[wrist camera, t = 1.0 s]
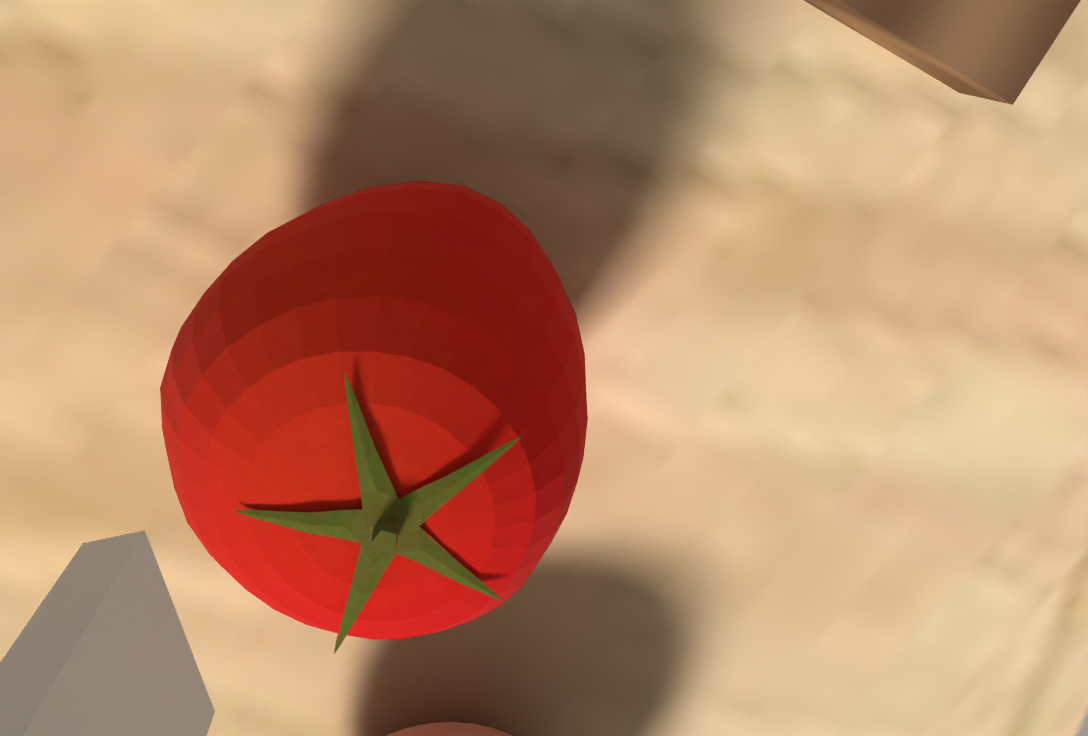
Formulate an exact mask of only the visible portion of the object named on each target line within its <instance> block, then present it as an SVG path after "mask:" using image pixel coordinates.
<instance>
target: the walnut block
mask: <svg viewBox="0 0 1088 736" xmlns="http://www.w3.org/2000/svg"><path fill="white" fill-rule="evenodd" d="M804 1H806V2H808V3H809V4H811V5H813V6H814V7H816V8H818V9H819V10H821V11H823V12H824V13H826V14H828V15H829V16H831V17H833V18H834V19H836V20H838V21H839V22H841V23H843V24H845V25H846V26H848V27H850V28H851V29H853V30H855V31H856V32H858V33H860V34H861V35H863V36H865V37H866V38H868V39H870V40H871V41H873V42H875V43H877V44H878V45H880V46H882V47H883V48H885V49H887V50H888V51H890V52H892V53H893V54H895V55H897V56H898V57H900V58H902V59H903V60H905V61H907V62H908V63H910V64H912V65H914V66H915V67H917V68H919V69H920V70H922V71H924V72H925V73H927V74H929V75H930V76H932V77H934V78H935V79H937V80H939V81H940V82H942V83H944V84H946V85H947V86H949V87H951V88H952V89H954V90H956V91H957V92H959V93H963V94H967V95H972V96H976V97H981V98H985V99H990V100H994V101H999V102H1003V103H1008V104H1012V105H1013V103H1014V102H1015V100H1016V99H1017V97H1018V96H1019V94H1020V93H1021V91H1022V90H1023V88H1024V87H1025V85H1026V83H1027V82H1028V80H1029V79H1030V77H1031V76H1032V74H1033V73H1034V71H1035V70H1036V68H1037V67H1038V65H1039V63H1040V62H1041V60H1042V59H1043V57H1044V56H1045V54H1046V53H1047V51H1048V50H1049V48H1050V47H1051V45H1052V43H1053V42H1054V40H1055V39H1056V37H1057V36H1058V34H1059V33H1060V31H1061V30H1062V28H1063V27H1064V25H1065V23H1066V22H1067V20H1068V19H1069V17H1070V16H1071V14H1072V13H1073V11H1074V10H1075V8H1076V7H1077V5H1078V3H1079V2H1080V0H804Z"/></svg>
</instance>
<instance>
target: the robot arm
mask: <svg viewBox="0 0 1088 736" xmlns="http://www.w3.org/2000/svg"><path fill="white" fill-rule="evenodd" d="M214 712H215V711H214V708H213V706H212V703H211V700H210V698H209V695H208V693H207V690H206V688H205V685H204V682H203V680H202V677H201V675H200V672H199V669H198V667H197V664H196V662H195V659H194V657H193V654H192V651H191V649H190V646H189V644H188V641H187V638H186V636H185V633H184V631H183V628H182V626H181V623H180V620H179V618H178V615H177V613H176V610H175V607H174V605H173V602H172V600H171V597H170V595H169V592H168V589H167V587H166V584H165V582H164V579H163V576H162V574H161V571H160V569H159V566H158V564H157V561H156V558H155V556H154V553H153V551H152V548H151V546H150V543H149V540H148V538H147V535H146V533H145V531H140V532H135V533H130V534H126V535H121V536H116V537H111V538H106V539H102V540H97V541H92V542H87V543H83V544H82V546H81V547H80V548H79V550H78V551H77V553H76V554H75V556H74V557H73V558H72V560H71V561H70V563H69V564H68V566H67V567H66V569H65V570H64V571H63V573H62V574H61V576H60V577H59V579H58V580H57V582H56V583H55V584H54V586H53V587H52V589H51V590H50V592H49V593H48V595H47V596H46V597H45V599H44V600H43V602H42V603H41V605H40V606H39V608H38V609H37V610H36V612H35V613H34V615H33V616H32V618H31V619H30V621H29V622H28V623H27V625H26V626H25V628H24V629H23V631H22V632H21V634H20V635H19V636H18V638H17V639H16V641H15V642H14V644H13V645H12V646H11V648H10V649H9V651H8V652H7V654H6V655H5V657H4V658H3V659H2V661H1V662H0V736H206V735H207V732H208V730H209V727H210V724H211V721H212V718H213V715H214Z"/></svg>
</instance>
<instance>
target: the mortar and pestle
mask: <svg viewBox="0 0 1088 736" xmlns="http://www.w3.org/2000/svg"><path fill="white" fill-rule="evenodd" d="M386 736H513V735H510V734H507V733H505V732H502V731H500V730H497V729H494V728H491V727H487V726H482V725H478V724H473V723H463V722H436V723H428V724H422V725H417V726H413V727H409V728H405V729H402V730H399V731H397V732H394V733H391V734H389V735H386Z"/></svg>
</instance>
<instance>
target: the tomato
mask: <svg viewBox="0 0 1088 736" xmlns="http://www.w3.org/2000/svg"><path fill="white" fill-rule="evenodd" d="M160 392H161V412H162V430H163V435H164V440H165V446H166V451H167V456H168V461H169V465H170V470H171V475H172V479H173V484H174V488H175V491H176V493H177V496H178V499H179V501H180V504H181V507H182V509H183V512H184V515H185V517H186V520H187V522H188V524H189V526H190V527H191V528H192V530H193V531H194V533H195V534H196V536H197V537H198V538H199V540H200V541H201V543H202V544H203V546H204V547H205V548H206V550H207V551H208V553H209V554H210V555H211V556H212V557H213V558H214V559H215V560H216V561H217V562H218V563H219V564H220V565H221V566H222V567H223V568H224V569H225V570H226V571H227V572H228V573H229V574H230V575H231V576H232V577H233V578H234V579H235V580H236V581H237V582H238V583H240V584H241V585H242V586H243V587H244V588H245V589H246V590H247V591H249V592H250V593H252V594H253V595H254V596H256V597H257V598H259V599H260V600H262V601H263V602H264V603H266V604H267V605H269V606H270V607H271V608H273V609H274V610H276V611H279V612H281V613H283V614H285V615H287V616H289V617H291V618H293V619H295V620H297V621H299V622H302V623H304V624H306V625H309V626H313V627H316V628H320V629H324V630H327V631H331V632H334V633H338V637H337V640H336V646H335V652H336V651H337V649H338V648H339V646H340V645H341V643H342V642H343V640H344V638H345V637H346V635H349V636H355V637H361V638H367V639H405V638H409V637H415V636H420V635H425V634H430V633H435V632H441V631H444V630H447V629H450V628H452V627H455V626H458V625H461V624H464V623H467V622H469V621H472V620H474V619H476V618H478V617H480V616H482V615H484V614H485V613H487V612H489V611H491V610H493V609H495V608H497V607H499V606H500V605H501V604H502V603H504V602H505V601H506V600H507V599H508V598H509V597H510V596H511V595H512V594H514V593H515V592H516V591H517V590H518V589H519V588H520V587H521V586H522V585H523V584H524V582H525V581H526V580H527V578H528V577H529V575H530V574H531V573H532V571H533V570H534V568H535V567H536V565H537V564H538V562H539V561H540V559H541V557H542V556H543V554H544V553H545V551H546V550H547V548H548V547H549V545H550V543H551V542H552V540H553V538H554V536H555V534H556V533H557V531H558V529H559V527H560V525H561V523H562V521H563V520H564V518H565V516H566V514H567V511H568V508H569V505H570V502H571V499H572V496H573V493H574V490H575V487H576V484H577V481H578V477H579V473H580V469H581V465H582V461H583V456H584V447H585V438H586V429H587V420H588V418H587V401H586V378H585V354H584V349H583V345H582V340H581V336H580V331H579V327H578V323H577V318H576V314H575V311H574V309H573V307H572V305H571V303H570V300H569V298H568V296H567V294H566V292H565V290H564V287H563V285H562V283H561V281H560V279H559V276H558V274H557V273H556V271H555V269H554V267H553V265H552V263H551V261H550V260H549V258H548V257H547V255H546V254H545V252H544V251H543V249H542V248H541V246H540V245H539V243H538V242H537V240H536V239H535V237H534V236H533V234H532V233H531V231H530V230H529V229H528V228H527V227H526V226H525V225H524V224H523V223H521V222H520V221H519V220H518V219H517V218H516V217H515V216H514V215H513V214H512V213H511V212H510V211H509V210H508V209H506V208H505V207H504V206H503V205H502V204H501V203H499V202H497V201H495V200H492V199H490V198H488V197H486V196H484V195H482V194H480V193H478V192H475V191H473V190H471V189H469V188H467V187H465V186H461V185H450V184H440V183H430V182H419V181H415V182H408V183H400V184H393V185H386V186H378V187H371V188H367V189H364V190H361V191H358V192H355V193H353V194H350V195H347V196H344V197H341V198H338V199H335V200H333V201H330V202H327V203H324V204H322V205H320V206H318V207H316V208H314V209H312V210H310V211H308V212H306V213H305V214H303V215H301V216H299V217H297V218H295V219H293V220H291V221H289V222H287V223H285V224H283V225H281V226H280V227H278V228H276V229H274V230H272V231H270V232H268V233H266V234H265V235H264V236H263V237H261V238H260V239H259V240H258V241H257V242H255V243H254V244H253V245H252V246H250V247H249V248H248V249H247V250H246V251H244V252H243V253H242V254H241V255H239V256H238V257H237V258H236V259H234V260H233V261H232V262H231V263H230V264H229V266H228V267H227V268H226V269H225V270H224V271H223V272H222V274H221V275H220V276H219V277H218V278H217V279H216V280H215V281H214V283H213V284H212V285H211V286H210V287H209V288H208V289H207V290H206V292H205V293H204V294H203V296H202V297H201V299H200V300H199V302H198V303H197V305H196V306H195V307H194V309H193V310H192V312H191V313H190V315H189V316H188V318H187V319H186V321H185V322H184V324H183V325H182V327H181V329H180V331H179V334H178V336H177V338H176V341H175V343H174V345H173V348H172V350H171V354H170V357H169V360H168V364H167V367H166V370H165V374H164V377H163V380H162V383H161V387H160ZM335 652H334V654H335Z"/></svg>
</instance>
